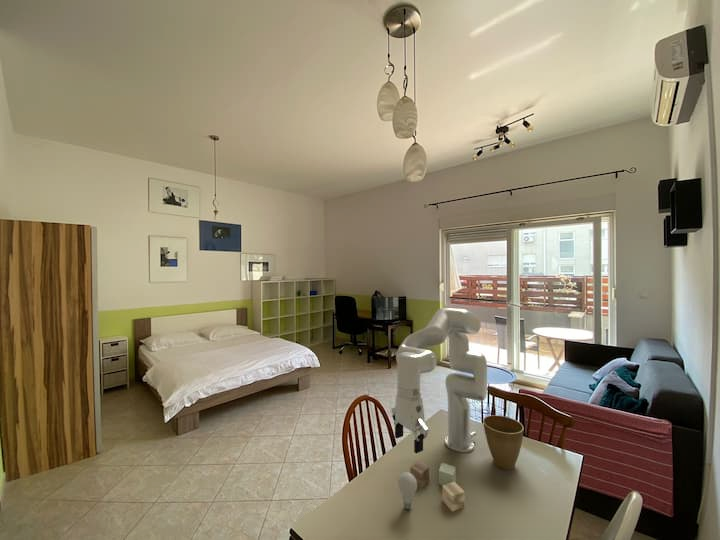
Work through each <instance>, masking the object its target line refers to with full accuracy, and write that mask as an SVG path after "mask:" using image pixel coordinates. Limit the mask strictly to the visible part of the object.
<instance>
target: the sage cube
mask: <svg viewBox="0 0 720 540" xmlns="http://www.w3.org/2000/svg"><path fill="white" fill-rule="evenodd" d="M456 469H457V468H456V466H453V465H450V464H447V463H444V462H442V463H441V464H440V467H439V469H438V485H440V486H442V485H446V484H449V483H452V482H455V483H456V481H457V479H456V477H457V472H456V471H457V470H456Z"/></svg>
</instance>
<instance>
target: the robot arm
mask: <svg viewBox="0 0 720 540" xmlns="http://www.w3.org/2000/svg"><path fill="white" fill-rule="evenodd" d="M481 325H482V324H481V319H480V317H479V316H478V315H477V314H475V313H474V312H472V311H470V310H467V309H465V308H450V307H442V308H439V309H438V310H437V311H436V312H435V313H434V315H433V317H432V318H431V320H429V323H428V324H427V325H426V326H425V327H424V328H421V329H419V330H417V331H415V332H413V333H410V334H408V336H406V337H405V338H404V340H403V341H402V343H401V344H400V345H399V347H398V348H397V351H396V355H395V359H396V363H397V364H396V365H397V367H396V368H397V371H396V374H397V375H396V376H397V377H396V380H397V383H396V385H397V386H396V387H397V389H396V396H395V405H394V407H392V408H391V409H390V410H391V414H392V419H393V421H394V422H393V425H394V437H395V439H399V438H401V437H403V436H404V428H405V429H407V430H409V431H410V432H412V434H413V436H414V438H415V439H414V440H413V446H414V447H413V448H414V450H413V452H414V454H418V453H421V452H423V451H424V440H425V438H427V436H428V434H429V431H430V430H429V428H428V427H427V425H426V424H425V423H426V422H425V409H424V403H423V398H422V397H421V395H422V393H421V374H428V373H430V372H432V371H434V369H435V368H436V367H437V365H438V358H437V357H438V356H437V355H436V354H435V352H433V351H432V350H429V349H425V348H428V347H429V348H430V347H434V346H435V347H436V346H439V345H441V344H443V343H444V342H445V341H446V340H447V338H448V363H449V367H450V368H451V370H454V371H457V372H452V373H451V372H450V373H449V374H447V376H446V377H445V381H444V383H445V389H446V396H447V436H446V437H445V438H444V445H445V446H446V447H447V448H448V449H450V450H452V451H454V452H456V453H470V452H472V451H473V450H474V449H475V444H474V442H473V441H472V439H473V438H475V437H476V436H477V432H476V431H472V432H471V406H470V403H469V400H468V399H470V400H473V401H477V402H482V401H485V400H486V398H487V395H488V364H487V358H486V356H485V355H484V354H483V353H481V352H476V351H472V350H471V351H470V348H469V347H470V345H469V344H470V343H469V341H470V340H469V337H468V335H476V334H478V333H479V332H480V330H481V327H482V326H481ZM458 372H461V373H458ZM463 373H465V374H463ZM468 374H470V375H468ZM472 375H473V376H472ZM418 433H419V434H418Z"/></svg>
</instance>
